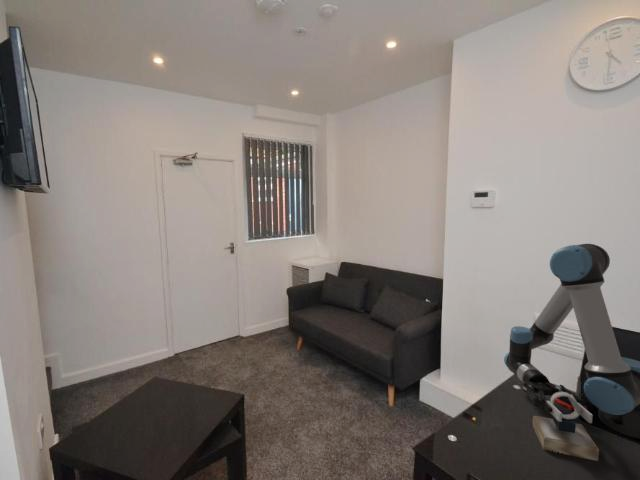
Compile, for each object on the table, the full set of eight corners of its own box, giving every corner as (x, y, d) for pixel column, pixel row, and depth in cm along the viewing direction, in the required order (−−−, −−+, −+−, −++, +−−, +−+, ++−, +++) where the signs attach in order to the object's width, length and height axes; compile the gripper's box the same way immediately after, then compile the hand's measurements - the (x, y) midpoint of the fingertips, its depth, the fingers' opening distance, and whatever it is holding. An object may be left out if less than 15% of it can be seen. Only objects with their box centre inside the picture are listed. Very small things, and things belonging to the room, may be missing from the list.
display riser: (581, 434, 108) (582, 423, 107) (598, 461, 96) (599, 448, 96) (532, 425, 112) (533, 414, 112) (543, 449, 101) (544, 437, 101)
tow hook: (549, 398, 129) (568, 411, 120) (551, 366, 128) (569, 377, 119) (570, 397, 129) (590, 411, 120) (571, 366, 129) (591, 377, 119)
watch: (582, 434, 100) (585, 401, 99) (552, 428, 103) (554, 396, 101) (575, 423, 105) (577, 391, 104) (546, 417, 108) (548, 386, 107)
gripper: (561, 389, 121) (611, 431, 98) (503, 386, 122) (539, 427, 100) (563, 370, 120) (613, 408, 97) (504, 368, 122) (540, 405, 99)
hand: (575, 418), depth 99 cm, fingers closed on watch, 8 cm apart
